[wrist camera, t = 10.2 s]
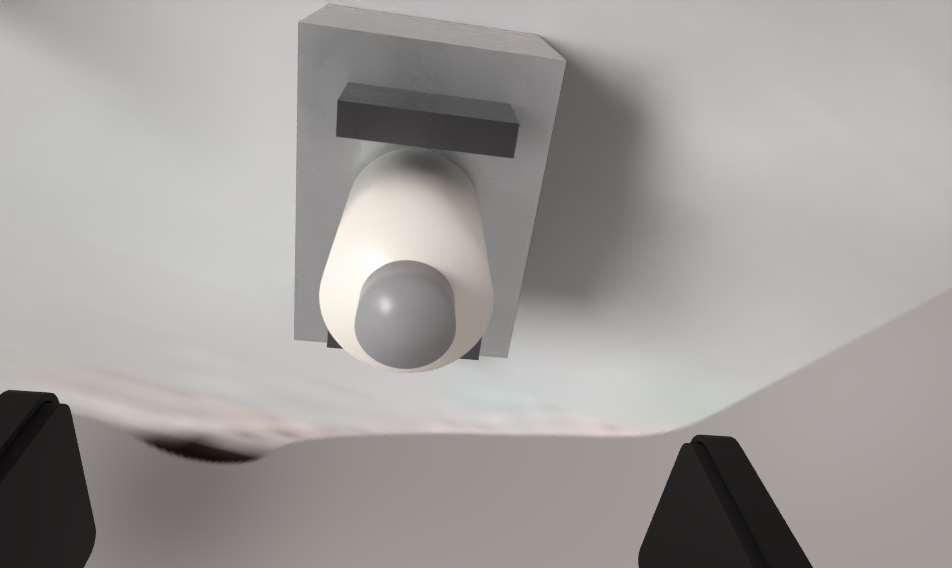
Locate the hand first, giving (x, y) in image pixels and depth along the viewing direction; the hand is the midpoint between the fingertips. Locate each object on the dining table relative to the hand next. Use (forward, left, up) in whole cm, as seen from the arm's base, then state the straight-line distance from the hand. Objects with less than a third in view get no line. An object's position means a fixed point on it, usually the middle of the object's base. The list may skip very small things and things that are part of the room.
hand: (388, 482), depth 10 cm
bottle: (+1, 0, -13) cm, 13 cm away
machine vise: (+2, 0, -19) cm, 19 cm away
